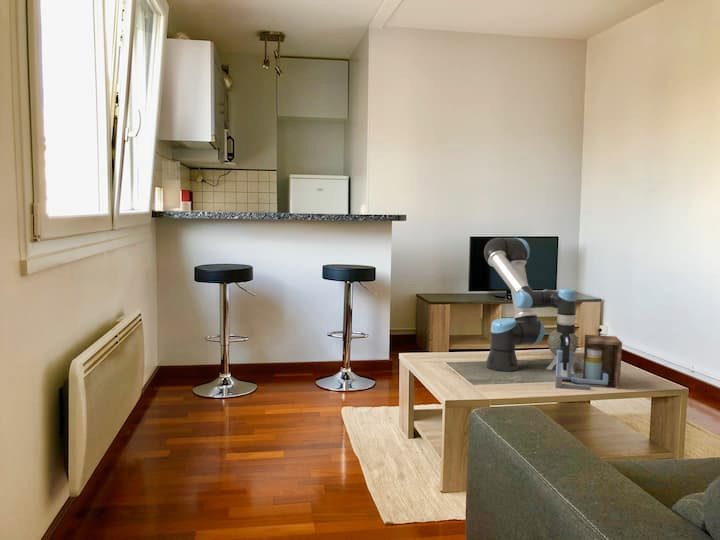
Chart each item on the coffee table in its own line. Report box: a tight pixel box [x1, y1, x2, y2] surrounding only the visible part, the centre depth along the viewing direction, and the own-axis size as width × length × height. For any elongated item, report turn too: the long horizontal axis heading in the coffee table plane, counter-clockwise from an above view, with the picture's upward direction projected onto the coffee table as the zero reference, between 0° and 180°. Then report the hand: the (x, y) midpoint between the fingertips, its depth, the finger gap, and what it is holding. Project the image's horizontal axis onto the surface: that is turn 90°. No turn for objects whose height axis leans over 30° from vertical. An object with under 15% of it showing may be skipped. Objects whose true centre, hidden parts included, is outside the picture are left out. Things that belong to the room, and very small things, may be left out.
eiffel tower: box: [545, 334, 583, 375], centre depth 282 cm, size 13×13×30 cm
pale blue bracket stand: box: [555, 350, 609, 386], centre depth 259 cm, size 20×10×12 cm, turn 78°
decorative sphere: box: [546, 328, 579, 356], centre depth 308 cm, size 15×15×15 cm
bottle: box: [584, 348, 603, 386], centre depth 259 cm, size 7×7×15 cm
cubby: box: [582, 334, 623, 390], centre depth 258 cm, size 13×13×20 cm
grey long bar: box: [554, 374, 591, 391], centre depth 251 cm, size 14×2×5 cm, turn 77°
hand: (563, 375), depth 262 cm, fingers closed on pale blue bracket stand, 4 cm apart
